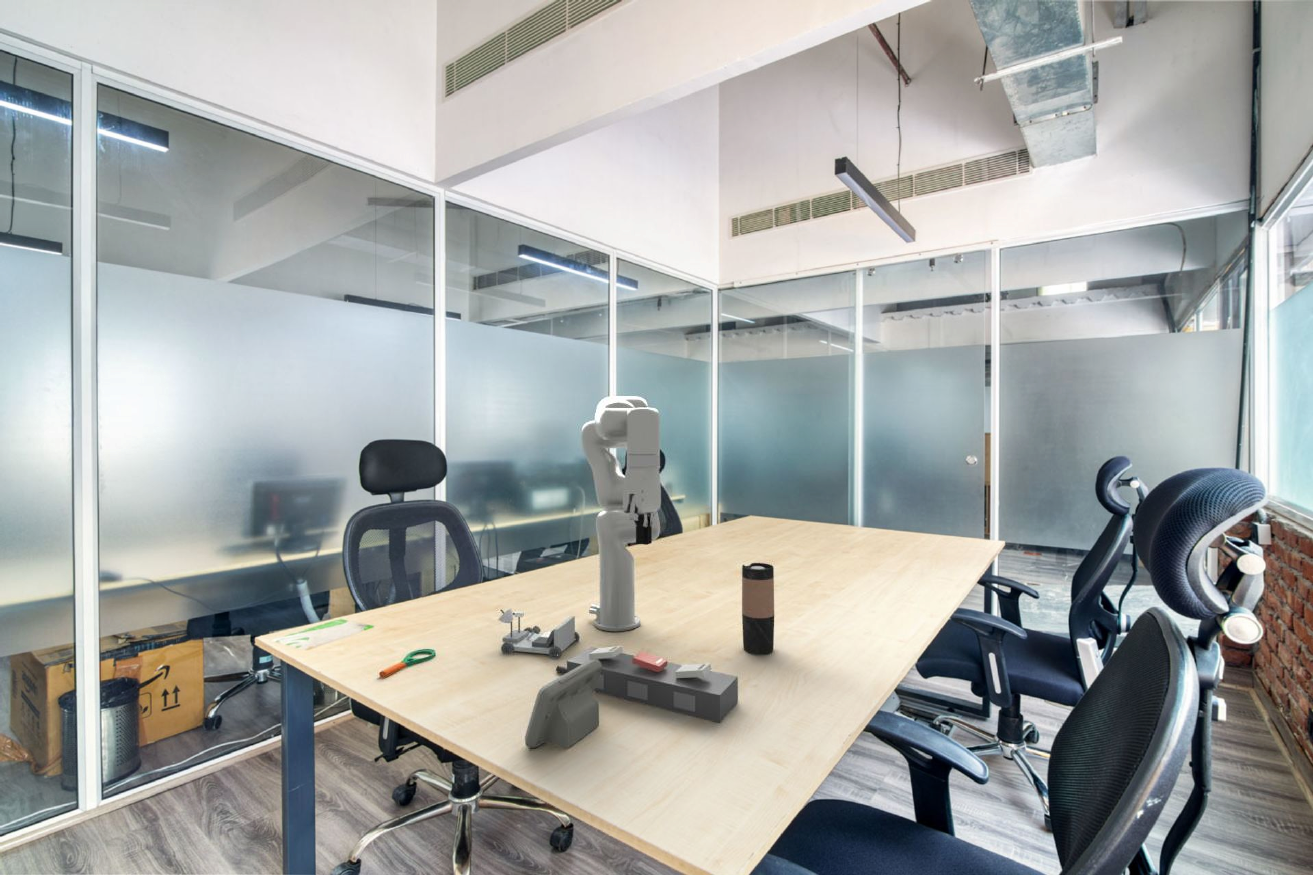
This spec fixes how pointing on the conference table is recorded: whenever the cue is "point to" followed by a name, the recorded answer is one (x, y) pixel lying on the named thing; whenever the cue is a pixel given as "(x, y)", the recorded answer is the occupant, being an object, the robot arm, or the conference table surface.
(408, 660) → the magnifying glass
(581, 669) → the digital clock
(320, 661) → the conference table surface
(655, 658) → the rocker middle
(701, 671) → the rocker right
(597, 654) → the rocker left
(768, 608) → the travel mug
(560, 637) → the toy car
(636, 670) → the power strip
